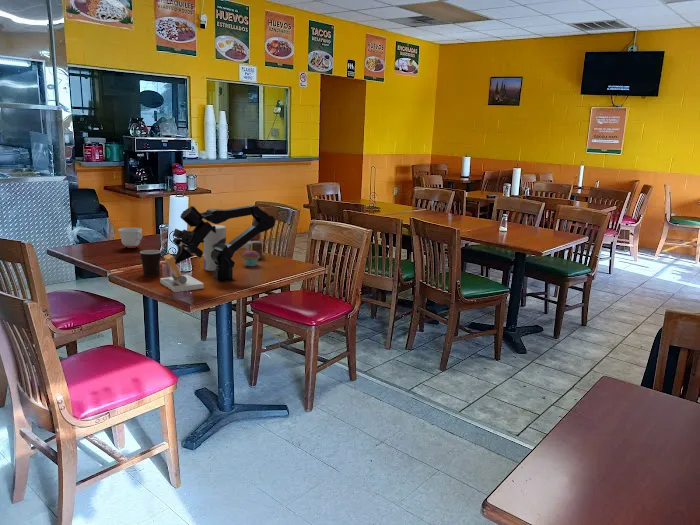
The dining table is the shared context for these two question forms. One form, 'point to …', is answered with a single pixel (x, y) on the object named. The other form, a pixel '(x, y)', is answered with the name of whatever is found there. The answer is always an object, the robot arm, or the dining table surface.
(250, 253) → the cupcake
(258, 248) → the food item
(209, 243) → the container
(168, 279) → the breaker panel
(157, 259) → the coffee mug
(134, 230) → the teacup
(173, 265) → the lever
